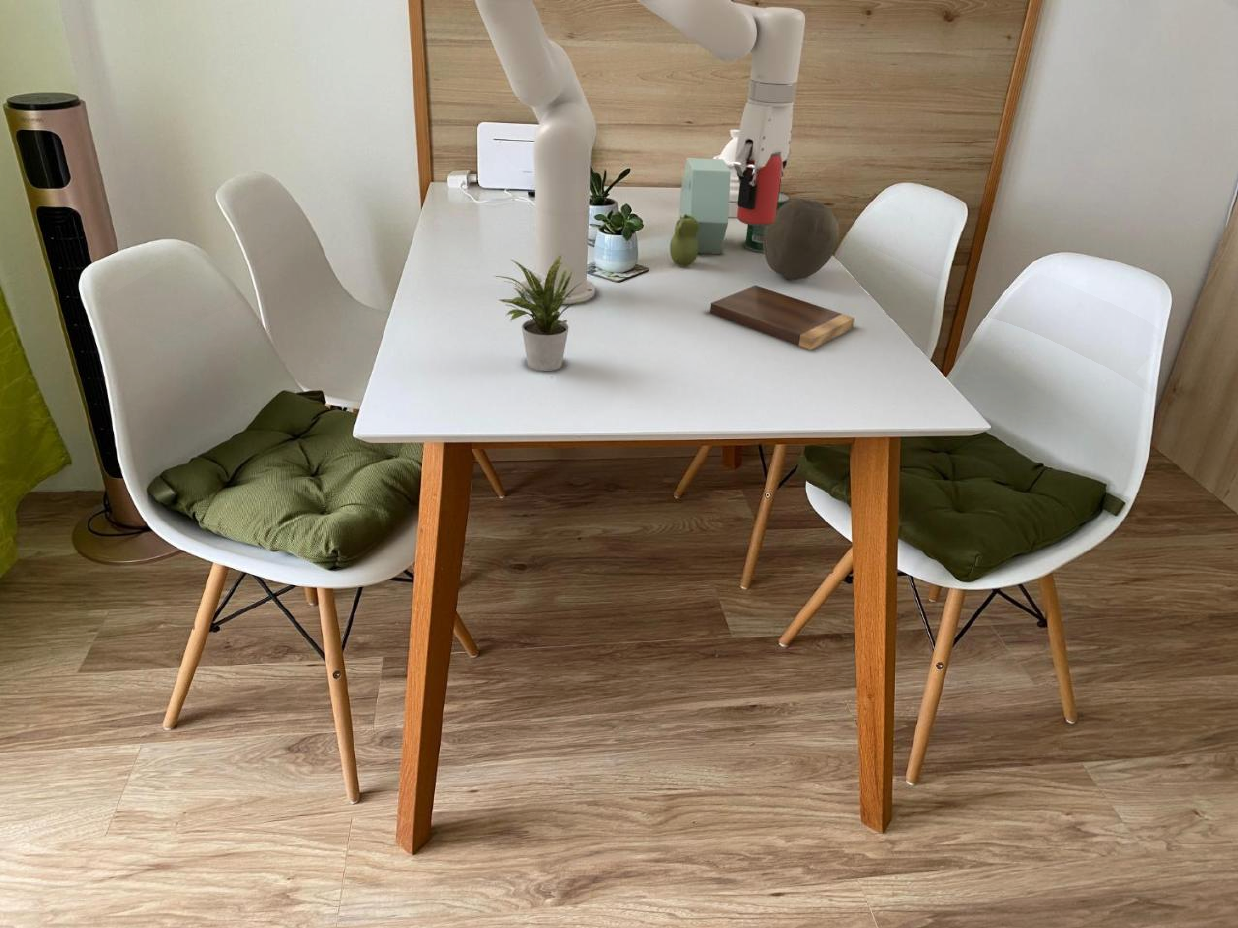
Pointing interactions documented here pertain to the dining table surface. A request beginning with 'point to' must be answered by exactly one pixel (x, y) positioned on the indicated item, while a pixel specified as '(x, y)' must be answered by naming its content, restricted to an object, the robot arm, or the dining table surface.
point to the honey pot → (729, 159)
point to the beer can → (764, 194)
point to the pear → (685, 241)
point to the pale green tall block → (706, 200)
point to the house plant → (543, 318)
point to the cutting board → (782, 316)
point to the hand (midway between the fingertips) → (757, 203)
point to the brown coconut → (800, 239)
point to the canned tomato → (760, 230)
